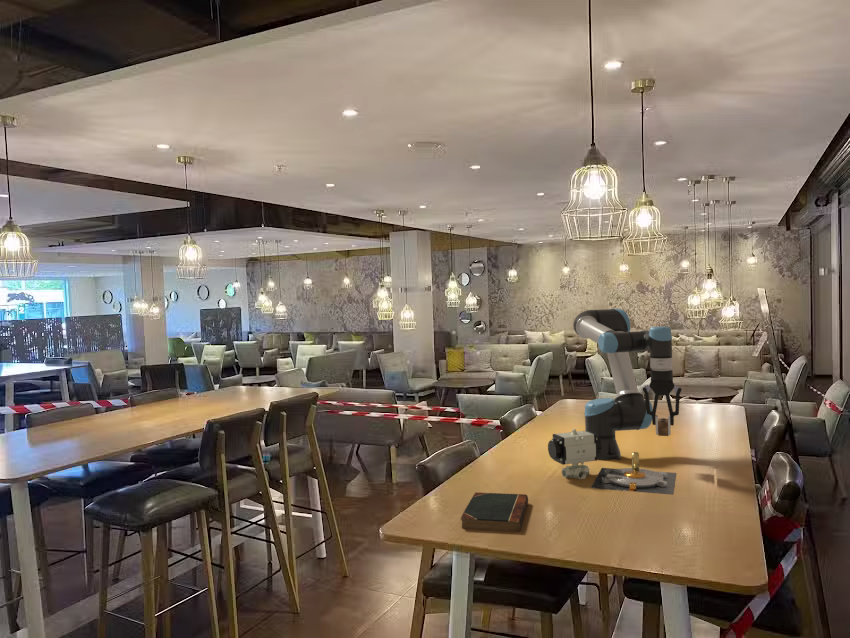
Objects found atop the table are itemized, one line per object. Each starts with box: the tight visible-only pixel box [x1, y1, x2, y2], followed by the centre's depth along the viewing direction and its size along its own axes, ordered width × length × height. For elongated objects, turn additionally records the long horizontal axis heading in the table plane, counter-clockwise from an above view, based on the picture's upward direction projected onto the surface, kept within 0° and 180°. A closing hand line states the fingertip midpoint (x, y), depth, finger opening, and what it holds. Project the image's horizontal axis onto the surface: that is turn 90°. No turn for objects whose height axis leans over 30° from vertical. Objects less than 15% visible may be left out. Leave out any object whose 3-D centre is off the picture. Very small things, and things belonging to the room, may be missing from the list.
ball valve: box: [547, 428, 602, 480], centre depth 230 cm, size 18×8×18 cm, turn 105°
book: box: [459, 491, 529, 532], centre depth 196 cm, size 17×4×25 cm
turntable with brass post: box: [602, 451, 667, 490], centre depth 222 cm, size 21×23×8 cm
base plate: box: [590, 467, 677, 496], centre depth 222 cm, size 26×26×1 cm
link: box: [657, 417, 670, 437], centre depth 234 cm, size 4×7×5 cm, turn 158°
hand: (663, 433), depth 231 cm, fingers closed on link, 3 cm apart
